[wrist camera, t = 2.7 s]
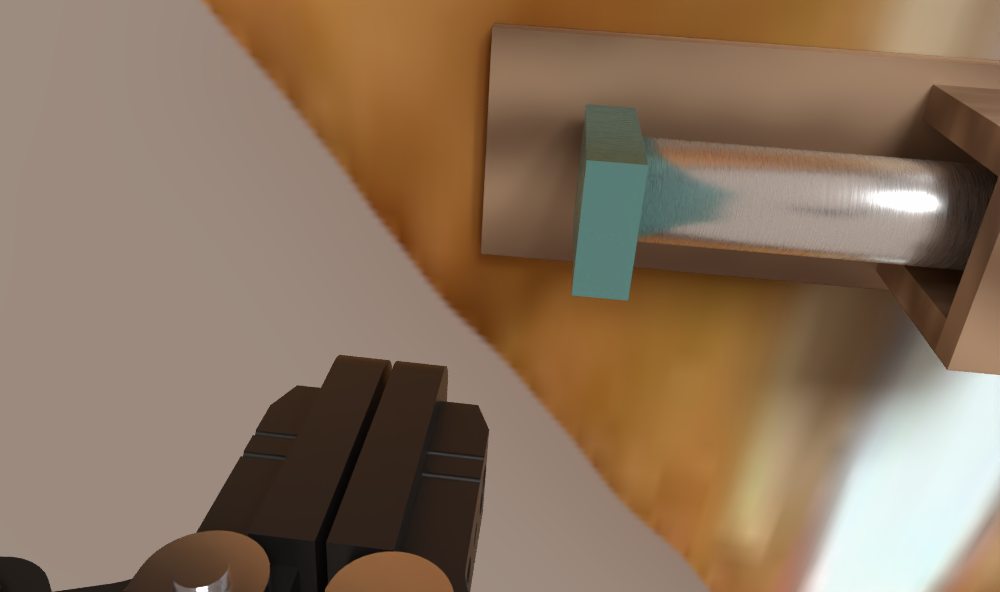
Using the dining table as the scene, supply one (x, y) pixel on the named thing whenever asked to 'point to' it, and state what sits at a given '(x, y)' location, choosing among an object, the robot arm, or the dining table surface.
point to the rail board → (754, 122)
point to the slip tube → (762, 203)
